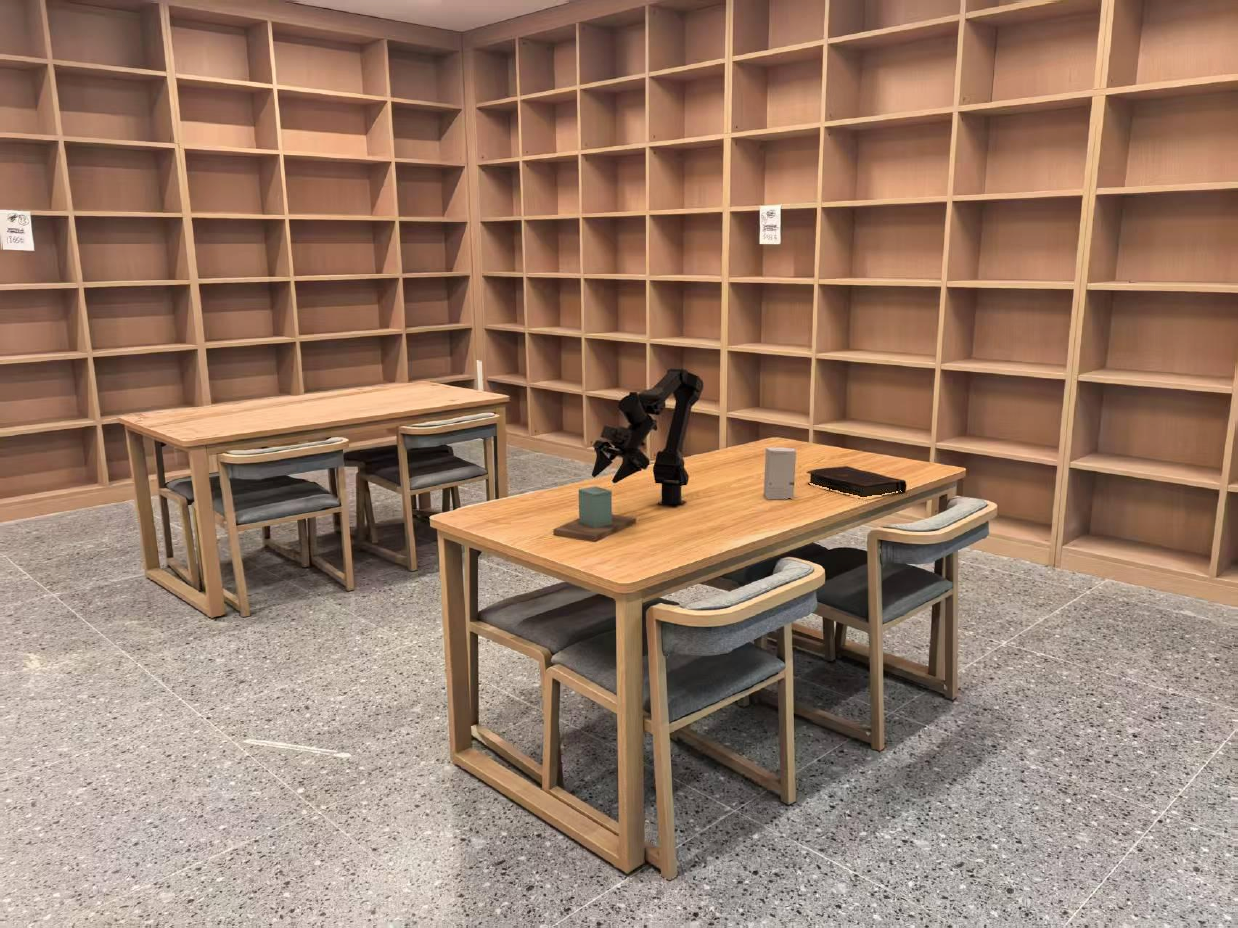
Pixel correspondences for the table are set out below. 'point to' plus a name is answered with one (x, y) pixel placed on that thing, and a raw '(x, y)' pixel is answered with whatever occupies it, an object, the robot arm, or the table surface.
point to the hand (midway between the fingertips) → (602, 479)
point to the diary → (856, 481)
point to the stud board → (594, 529)
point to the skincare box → (779, 473)
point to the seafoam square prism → (595, 506)
